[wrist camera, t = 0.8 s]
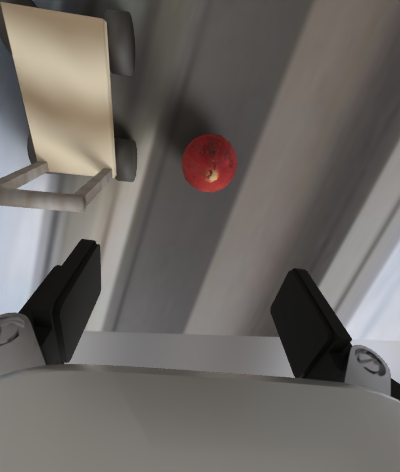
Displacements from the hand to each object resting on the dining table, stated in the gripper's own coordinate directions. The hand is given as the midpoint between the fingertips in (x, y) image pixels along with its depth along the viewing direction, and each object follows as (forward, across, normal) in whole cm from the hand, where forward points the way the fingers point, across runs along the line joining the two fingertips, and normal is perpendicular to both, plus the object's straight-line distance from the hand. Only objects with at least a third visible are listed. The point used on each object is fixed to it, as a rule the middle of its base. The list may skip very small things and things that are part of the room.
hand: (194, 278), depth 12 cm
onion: (+20, -2, -2) cm, 20 cm away
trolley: (+20, +12, -5) cm, 24 cm away
